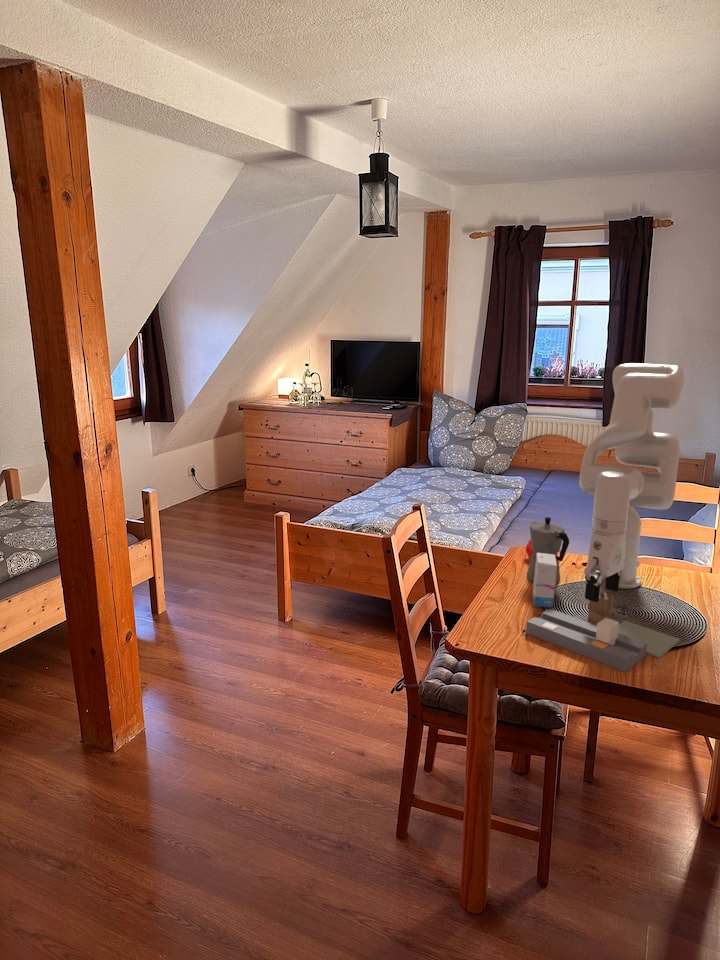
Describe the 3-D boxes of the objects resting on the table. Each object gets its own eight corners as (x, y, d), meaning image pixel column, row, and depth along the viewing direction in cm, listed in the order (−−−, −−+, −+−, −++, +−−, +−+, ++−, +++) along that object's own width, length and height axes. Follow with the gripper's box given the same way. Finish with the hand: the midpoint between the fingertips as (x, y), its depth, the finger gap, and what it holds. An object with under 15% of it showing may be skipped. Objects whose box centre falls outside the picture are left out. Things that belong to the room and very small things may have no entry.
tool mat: (624, 622, 163) (624, 620, 163) (679, 641, 154) (679, 639, 154) (602, 637, 156) (603, 635, 155) (659, 658, 146) (659, 655, 146)
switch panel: (548, 619, 164) (549, 608, 164) (645, 655, 148) (647, 642, 147) (525, 633, 158) (526, 621, 157) (625, 672, 141) (626, 658, 140)
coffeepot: (515, 572, 194) (519, 512, 189) (541, 567, 198) (546, 509, 193) (550, 592, 180) (555, 528, 176) (577, 587, 184) (583, 524, 179)
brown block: (595, 620, 164) (599, 574, 161) (610, 626, 161) (615, 579, 158) (587, 625, 161) (591, 579, 158) (602, 631, 159) (607, 584, 156)
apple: (558, 545, 200) (538, 530, 205) (543, 554, 197) (523, 538, 202) (553, 562, 205) (533, 546, 210) (537, 570, 201) (518, 554, 206)
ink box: (554, 608, 171) (557, 564, 168) (533, 606, 172) (537, 563, 169) (551, 594, 179) (555, 553, 176) (532, 593, 180) (535, 551, 177)
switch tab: (603, 638, 151) (606, 617, 150) (616, 642, 149) (618, 622, 148) (595, 644, 148) (597, 623, 147) (608, 648, 146) (610, 627, 145)
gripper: (606, 536, 146) (599, 609, 150) (641, 521, 158) (633, 590, 162) (575, 528, 152) (568, 599, 155) (610, 515, 163) (603, 581, 167)
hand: (601, 594), depth 159 cm, fingers open, 9 cm apart
